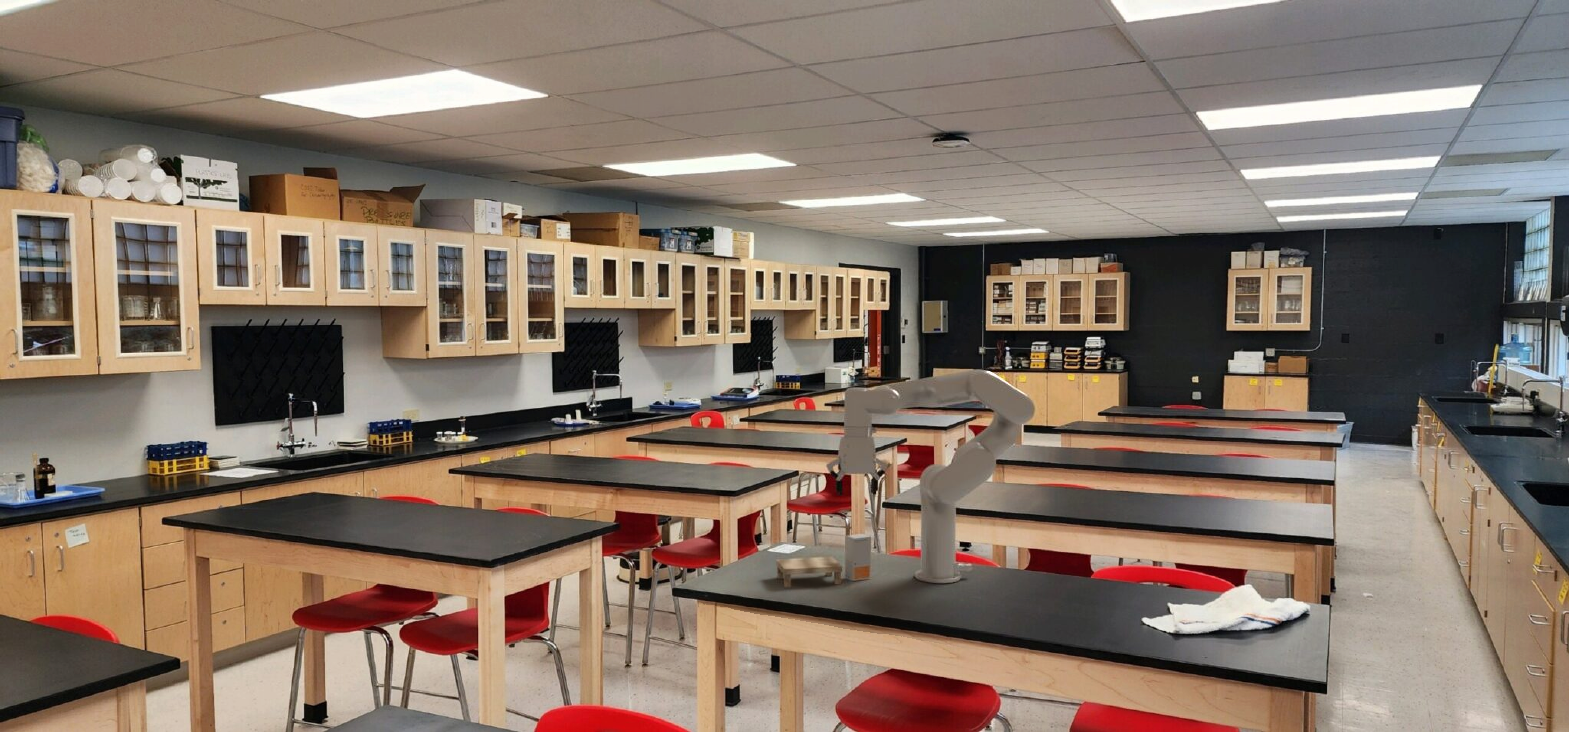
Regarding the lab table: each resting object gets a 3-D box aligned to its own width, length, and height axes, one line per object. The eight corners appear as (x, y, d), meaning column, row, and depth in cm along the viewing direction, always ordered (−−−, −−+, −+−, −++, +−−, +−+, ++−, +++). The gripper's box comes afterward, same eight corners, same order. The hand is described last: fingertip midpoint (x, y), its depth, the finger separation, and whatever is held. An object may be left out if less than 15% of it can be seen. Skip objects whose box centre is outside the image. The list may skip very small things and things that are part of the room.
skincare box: (852, 581, 259) (852, 538, 259) (844, 577, 263) (844, 535, 263) (871, 578, 262) (871, 536, 262) (863, 575, 266) (863, 533, 265)
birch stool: (831, 574, 267) (831, 556, 267) (842, 584, 256) (842, 566, 256) (776, 577, 264) (776, 559, 263) (784, 587, 253) (784, 569, 253)
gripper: (883, 430, 266) (882, 491, 266) (824, 431, 263) (823, 492, 263) (891, 433, 258) (890, 495, 259) (830, 434, 255) (829, 497, 256)
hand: (856, 494), depth 261 cm, fingers open, 9 cm apart
